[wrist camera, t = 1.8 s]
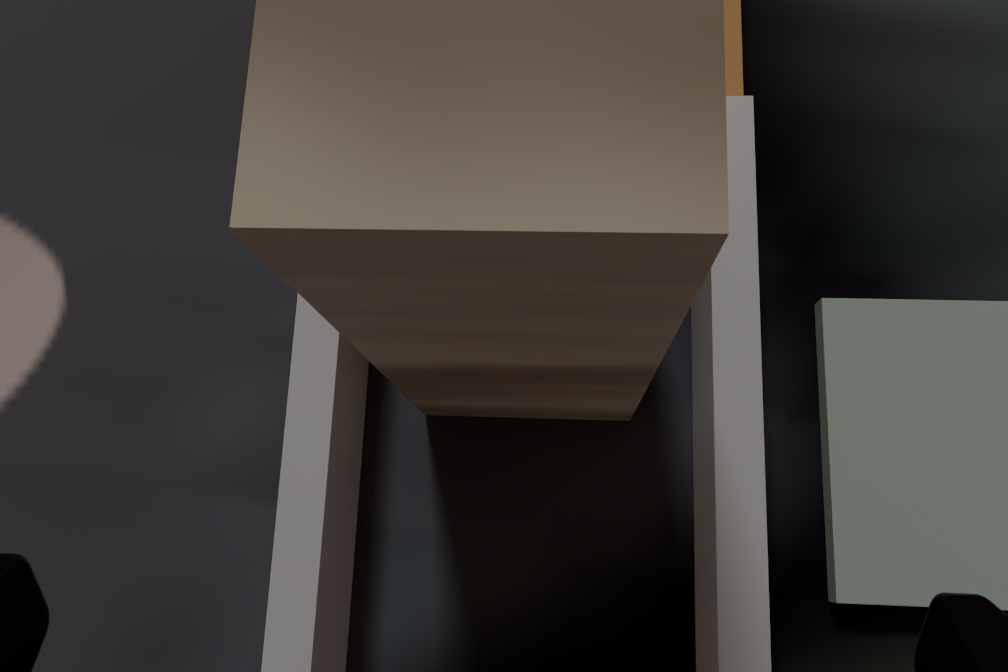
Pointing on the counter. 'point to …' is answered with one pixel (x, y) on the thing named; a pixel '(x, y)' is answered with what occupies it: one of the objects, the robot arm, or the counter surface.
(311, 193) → the beech block
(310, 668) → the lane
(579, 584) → the counter surface
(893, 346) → the pad
